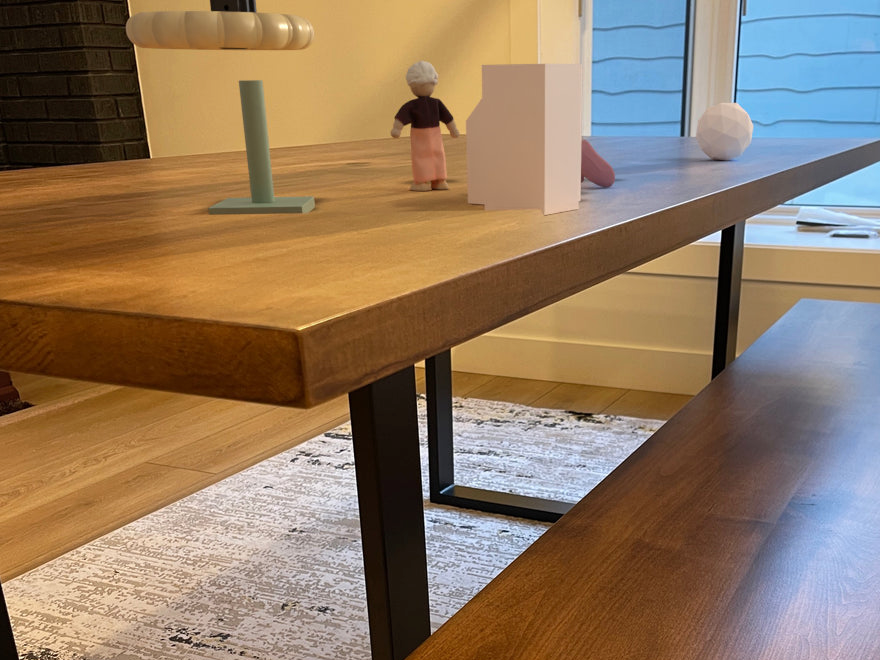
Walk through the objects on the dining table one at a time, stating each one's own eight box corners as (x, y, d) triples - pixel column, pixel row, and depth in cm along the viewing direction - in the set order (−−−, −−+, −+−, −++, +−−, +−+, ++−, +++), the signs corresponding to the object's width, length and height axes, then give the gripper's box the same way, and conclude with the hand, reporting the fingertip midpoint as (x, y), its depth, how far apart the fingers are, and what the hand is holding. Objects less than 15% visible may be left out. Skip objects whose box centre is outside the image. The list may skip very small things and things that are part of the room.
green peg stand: (209, 219, 86) (191, 80, 82) (229, 208, 93) (213, 80, 89) (303, 218, 86) (290, 79, 82) (315, 207, 94) (304, 79, 89)
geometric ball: (733, 181, 141) (755, 134, 135) (681, 159, 142) (700, 112, 135) (746, 150, 145) (768, 103, 139) (696, 128, 146) (715, 81, 139)
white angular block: (544, 215, 87) (545, 63, 82) (445, 206, 93) (440, 65, 88) (609, 203, 94) (613, 64, 90) (514, 196, 101) (513, 65, 96)
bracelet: (104, 46, 54) (99, 9, 54) (157, 49, 64) (153, 18, 63) (300, 48, 55) (298, 11, 54) (324, 50, 65) (322, 20, 64)
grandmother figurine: (444, 185, 111) (439, 61, 106) (465, 188, 109) (461, 60, 104) (386, 190, 107) (378, 61, 102) (407, 193, 104) (400, 60, 99)
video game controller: (543, 195, 115) (519, 138, 111) (574, 175, 116) (551, 118, 112) (588, 204, 107) (563, 143, 103) (621, 182, 108) (598, 120, 104)
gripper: (170, -253, 63) (203, 52, 69) (97, -336, 50) (147, 46, 57) (290, -250, 63) (311, 52, 70) (249, -333, 50) (280, 46, 57)
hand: (237, 48), depth 63 cm, fingers closed on bracelet, 2 cm apart
